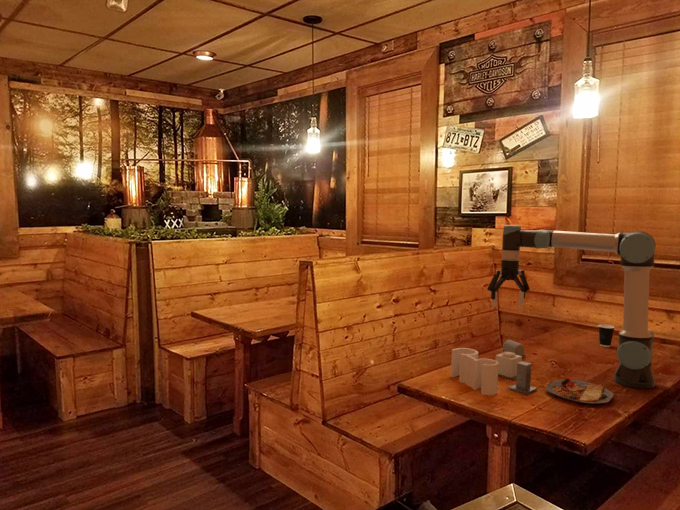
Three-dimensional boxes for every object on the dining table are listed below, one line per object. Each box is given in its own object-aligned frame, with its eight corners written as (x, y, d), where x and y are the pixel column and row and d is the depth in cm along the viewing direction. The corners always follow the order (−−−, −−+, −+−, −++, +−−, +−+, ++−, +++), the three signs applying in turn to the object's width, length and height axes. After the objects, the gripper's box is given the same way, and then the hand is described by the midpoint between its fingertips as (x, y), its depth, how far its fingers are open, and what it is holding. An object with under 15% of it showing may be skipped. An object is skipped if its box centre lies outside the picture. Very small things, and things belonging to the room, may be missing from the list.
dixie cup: (596, 346, 279) (598, 326, 278) (597, 343, 286) (598, 323, 285) (613, 348, 276) (614, 328, 275) (613, 345, 283) (614, 325, 282)
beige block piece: (520, 374, 229) (522, 354, 228) (511, 377, 224) (512, 357, 223) (504, 369, 235) (505, 349, 234) (494, 372, 230) (495, 353, 229)
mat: (524, 375, 229) (524, 374, 229) (512, 379, 222) (512, 378, 222) (503, 369, 236) (503, 368, 236) (491, 373, 230) (491, 372, 230)
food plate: (558, 379, 223) (559, 371, 223) (618, 393, 209) (619, 385, 208) (538, 397, 204) (539, 388, 204) (603, 414, 190) (604, 404, 189)
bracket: (503, 394, 205) (504, 364, 204) (481, 396, 202) (483, 366, 201) (468, 374, 229) (469, 347, 228) (448, 375, 226) (450, 348, 225)
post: (537, 390, 210) (538, 363, 209) (527, 394, 205) (528, 367, 204) (518, 385, 216) (520, 359, 215) (508, 389, 211) (510, 362, 209)
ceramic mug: (515, 359, 252) (516, 344, 251) (501, 355, 259) (502, 340, 258) (529, 356, 258) (530, 341, 257) (515, 352, 264) (516, 337, 264)
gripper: (529, 258, 240) (526, 303, 242) (481, 258, 234) (478, 305, 236) (539, 260, 233) (536, 306, 235) (490, 260, 227) (487, 308, 229)
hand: (507, 306), depth 236 cm, fingers open, 13 cm apart
